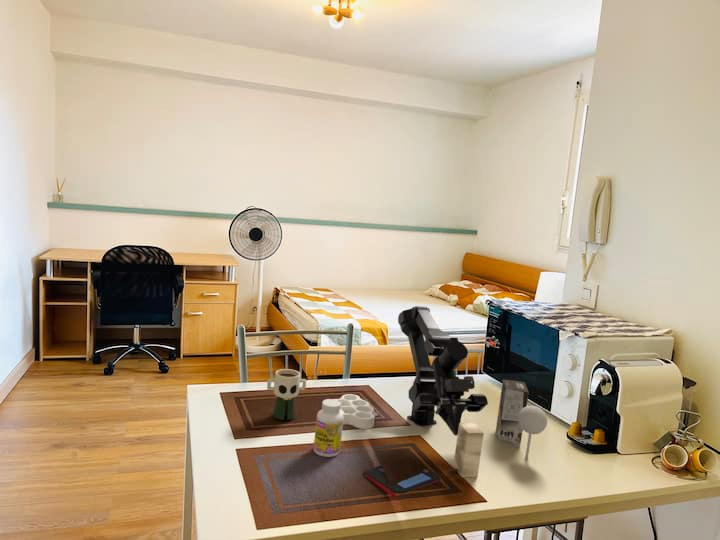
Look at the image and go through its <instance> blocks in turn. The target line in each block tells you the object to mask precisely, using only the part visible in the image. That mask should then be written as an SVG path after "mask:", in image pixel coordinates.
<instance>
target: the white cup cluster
mask: <svg viewBox="0 0 720 540" xmlns="http://www.w3.org/2000/svg"><path fill="white" fill-rule="evenodd" d="M333 399H334V400H338V401H340V402H341V409H340V412H341V413H342V414H343V417H344V419H343V426H344V425H349V426H350V425H351V426H353V427H355V428H358V429H361V430H369V429H372V428H374V426H375V419H376V418H375V417H377V416H379V414H378V413H377V412H375V411H374V409H375V408H374V407H372V406H371V405H370V404H371V403H370V402H368V401H367V400H364V399H362V398H361V397H360V396H359V395H356V394H352V393H350V394H347V393H346V394H343V395H342V396H341V397H340V398H333Z"/></svg>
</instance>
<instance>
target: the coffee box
mask: <svg viewBox="0 0 720 540" xmlns="http://www.w3.org/2000/svg"><path fill="white" fill-rule="evenodd" d="M500 391H501V392H500V398H499V404H498V405H499V406H498V412H497V420H496V427H495V434H496V435H497V439H498V440H500V441H506V442H509V443H510V444H511V445H512V446H513V447H515V448H521V443H522V437H523V432H524V430H523V429H522V428H521V427H520V425H519V422H518V416H519V413H520V411H521V410H522V409H523V408H524V407H527V406H528V399H529V394H530V392H529V390H528V386H527V384H526V382H523V381H517V380H513V379H512V380H509V379H502V385H501V390H500Z"/></svg>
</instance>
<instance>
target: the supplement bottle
mask: <svg viewBox="0 0 720 540" xmlns="http://www.w3.org/2000/svg"><path fill="white" fill-rule="evenodd" d="M334 399H335V398H333V399H332V398H327V399H324V400H323V401H322V402H321V403H322V404H321V409H320V410H318V412H317V414H316V421H315V429H314V430H315V431H314V439H313V452H314V453H315V454H317V455H318V456H320V457H324V458H332V457H336V456H337V455H339V453H340V450H341V444H342V435H343V428H344V427H343V426H344V425H343V419H344V417H343V414H342V413H341V412H340V409H341V402H340V401H338V400H334Z"/></svg>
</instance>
